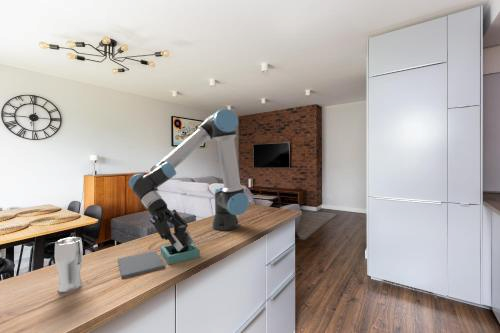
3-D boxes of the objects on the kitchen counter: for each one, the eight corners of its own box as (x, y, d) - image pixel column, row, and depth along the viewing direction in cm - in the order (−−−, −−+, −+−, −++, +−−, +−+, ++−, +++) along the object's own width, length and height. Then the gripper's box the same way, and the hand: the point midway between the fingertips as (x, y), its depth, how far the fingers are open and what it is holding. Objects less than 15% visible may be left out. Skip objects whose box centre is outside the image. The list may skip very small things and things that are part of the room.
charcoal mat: (155, 253, 101) (155, 250, 101) (164, 267, 87) (164, 265, 87) (117, 261, 93) (117, 258, 93) (121, 278, 80) (121, 275, 80)
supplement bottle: (179, 259, 94) (179, 229, 93) (167, 256, 97) (167, 227, 97) (192, 253, 100) (191, 225, 99) (180, 250, 103) (180, 223, 103)
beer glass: (53, 296, 70) (51, 246, 69) (59, 284, 76) (57, 238, 76) (82, 289, 73) (80, 242, 73) (85, 279, 79) (83, 235, 79)
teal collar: (189, 247, 107) (189, 240, 107) (199, 256, 97) (199, 249, 97) (160, 253, 100) (160, 246, 100) (168, 264, 90) (168, 256, 90)
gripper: (166, 204, 113) (195, 243, 107) (131, 214, 94) (164, 261, 89) (174, 194, 110) (205, 232, 105) (140, 202, 92) (175, 249, 87)
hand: (186, 245), depth 97 cm, fingers closed on supplement bottle, 7 cm apart
